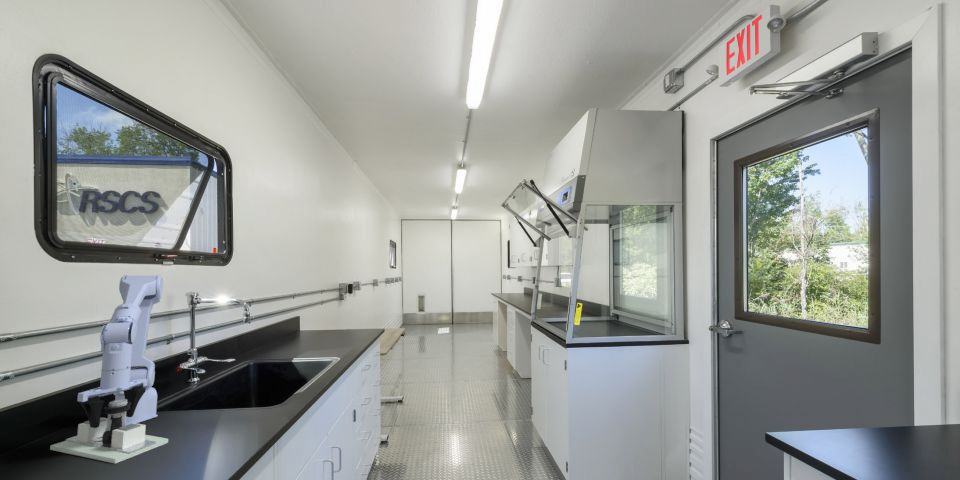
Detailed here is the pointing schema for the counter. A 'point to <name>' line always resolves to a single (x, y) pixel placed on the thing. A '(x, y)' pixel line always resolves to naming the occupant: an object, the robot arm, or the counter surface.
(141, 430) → the mounted modules
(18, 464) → the counter surface
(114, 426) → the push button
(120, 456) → the mounting board
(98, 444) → the rail
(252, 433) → the counter surface
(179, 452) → the counter surface
